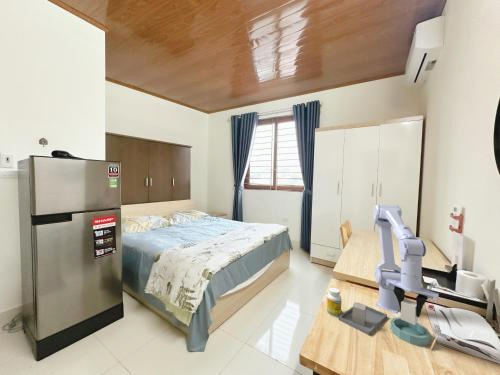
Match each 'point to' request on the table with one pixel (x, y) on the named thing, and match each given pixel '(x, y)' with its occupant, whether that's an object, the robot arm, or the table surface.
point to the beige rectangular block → (409, 311)
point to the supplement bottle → (334, 302)
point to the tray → (372, 320)
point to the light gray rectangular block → (359, 314)
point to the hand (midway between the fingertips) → (410, 312)
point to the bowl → (410, 332)
